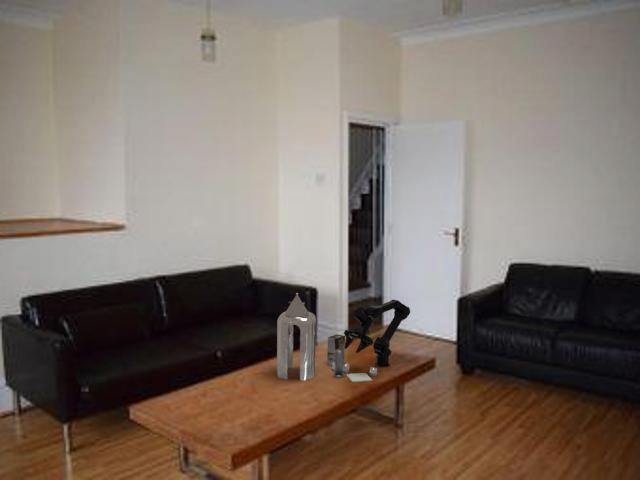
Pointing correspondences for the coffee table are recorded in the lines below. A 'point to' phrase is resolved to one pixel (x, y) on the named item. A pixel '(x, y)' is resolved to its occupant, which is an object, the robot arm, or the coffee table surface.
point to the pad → (359, 377)
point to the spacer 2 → (346, 367)
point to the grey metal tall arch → (285, 340)
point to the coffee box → (335, 347)
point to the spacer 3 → (373, 371)
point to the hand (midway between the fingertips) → (350, 350)
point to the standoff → (338, 364)
